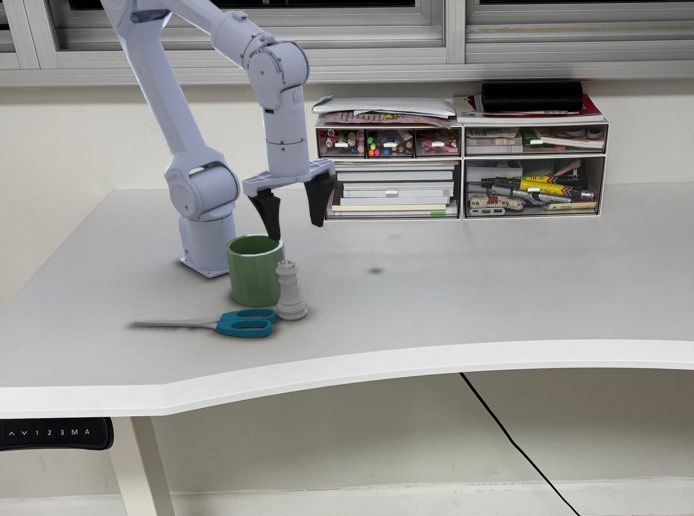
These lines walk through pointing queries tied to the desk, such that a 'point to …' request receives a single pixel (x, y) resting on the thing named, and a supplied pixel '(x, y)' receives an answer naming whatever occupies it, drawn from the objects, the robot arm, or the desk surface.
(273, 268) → the planter
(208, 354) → the desk surface
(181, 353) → the desk surface
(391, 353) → the desk surface
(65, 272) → the desk surface
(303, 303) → the rook chess piece
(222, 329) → the scissors
